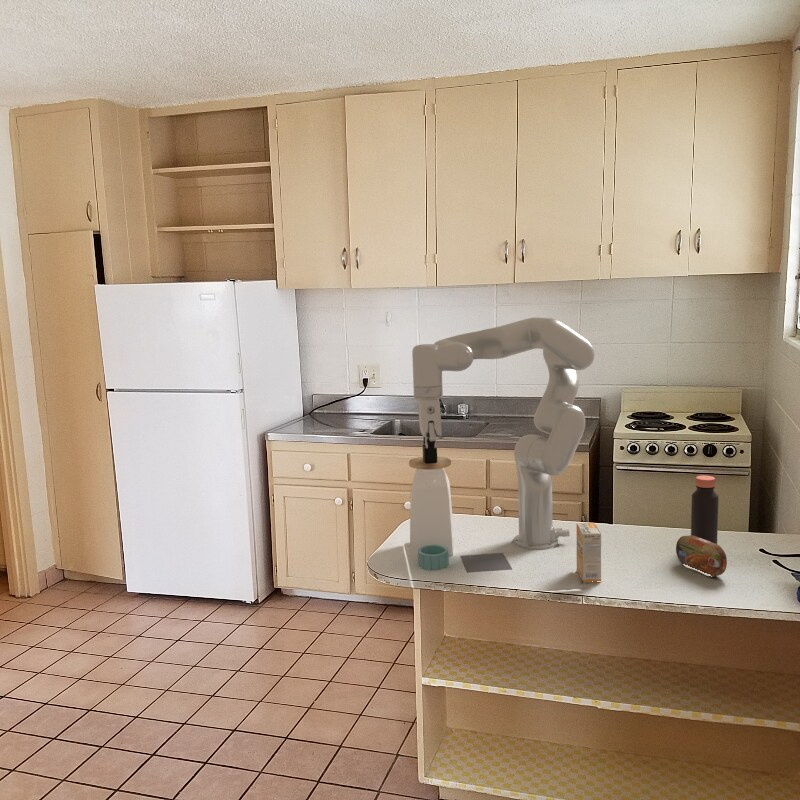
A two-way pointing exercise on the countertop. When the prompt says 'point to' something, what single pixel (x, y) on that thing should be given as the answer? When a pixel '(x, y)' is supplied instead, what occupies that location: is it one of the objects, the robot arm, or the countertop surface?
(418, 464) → the lid
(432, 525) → the milk
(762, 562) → the countertop surface
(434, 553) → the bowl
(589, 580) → the supplement box
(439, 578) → the countertop surface
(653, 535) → the countertop surface
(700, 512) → the bottle
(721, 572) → the tin
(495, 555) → the mat
